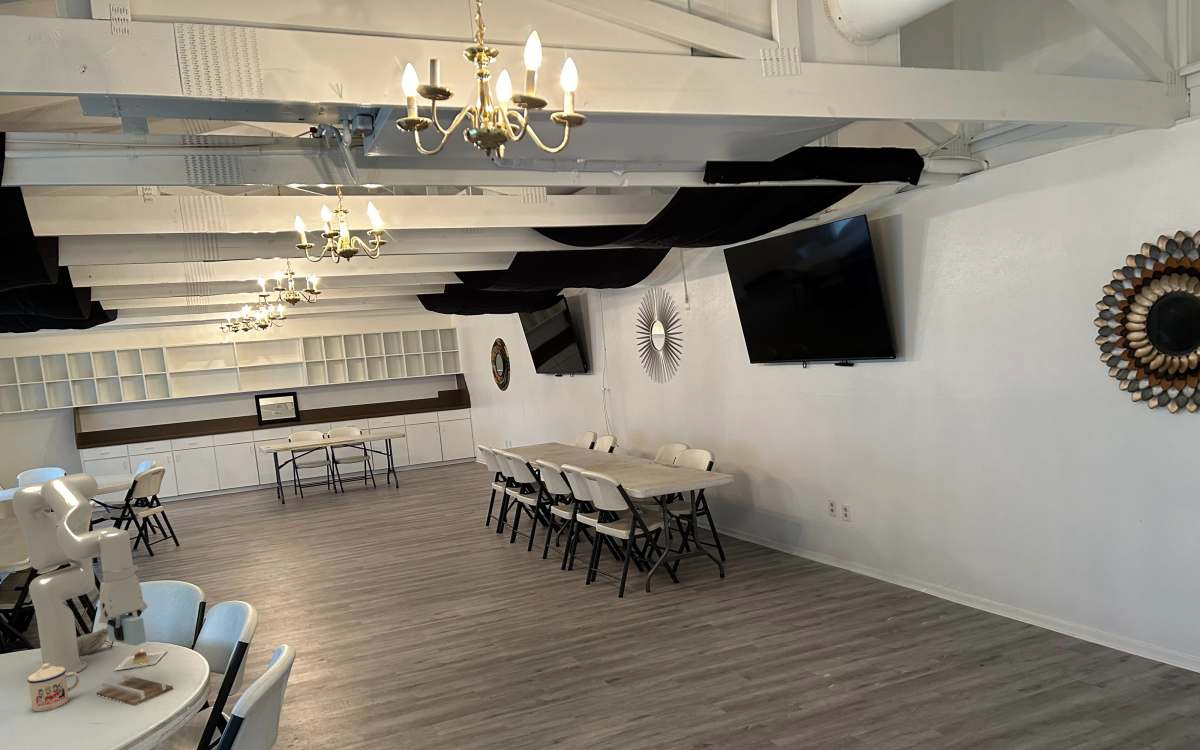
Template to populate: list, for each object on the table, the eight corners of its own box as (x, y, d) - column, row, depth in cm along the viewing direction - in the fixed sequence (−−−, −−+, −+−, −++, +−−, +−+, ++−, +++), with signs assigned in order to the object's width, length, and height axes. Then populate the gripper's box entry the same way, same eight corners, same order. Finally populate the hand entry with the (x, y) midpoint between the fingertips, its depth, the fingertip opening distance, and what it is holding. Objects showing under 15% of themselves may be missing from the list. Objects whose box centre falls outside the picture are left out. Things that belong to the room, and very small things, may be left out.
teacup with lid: (34, 715, 227) (28, 673, 227) (29, 706, 234) (23, 666, 234) (84, 699, 235) (79, 659, 235) (78, 691, 242) (73, 652, 241)
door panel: (108, 640, 238) (105, 616, 238) (119, 636, 241) (116, 612, 241) (135, 645, 231) (132, 621, 231) (145, 642, 234) (142, 617, 233)
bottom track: (96, 695, 237) (95, 685, 237) (134, 679, 247) (133, 670, 247) (134, 705, 227) (133, 695, 227) (173, 688, 236) (171, 679, 236)
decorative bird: (60, 657, 275) (57, 635, 274) (115, 645, 282) (113, 624, 281) (57, 662, 270) (54, 640, 269) (114, 650, 277) (111, 628, 276)
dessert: (113, 674, 255) (111, 658, 255) (128, 659, 267) (126, 645, 267) (155, 667, 257) (153, 652, 257) (168, 653, 269) (166, 639, 269)
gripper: (140, 565, 244) (147, 626, 245) (81, 582, 230) (89, 646, 231) (154, 567, 240) (162, 629, 241) (95, 584, 226) (103, 650, 227)
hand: (126, 637), depth 236 cm, fingers closed on door panel, 3 cm apart
